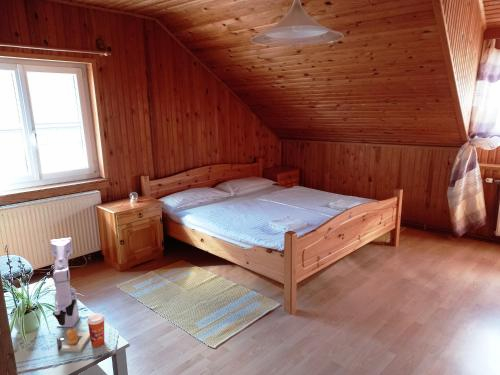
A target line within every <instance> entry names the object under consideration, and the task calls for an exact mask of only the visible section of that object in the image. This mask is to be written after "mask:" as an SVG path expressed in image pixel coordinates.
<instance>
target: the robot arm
mask: <svg viewBox="0 0 500 375" xmlns="http://www.w3.org/2000/svg"><path fill="white" fill-rule="evenodd" d="M49 243H50V251H51V254H52V256H53V257H56V259H55V261H54V271H53V272H52V275H53V276H52V278H53V283H54V287H55V294H54V307H55V309H54V311H53V312H52V316H54V317H55V319H56V321H57V322H58V323H57V325H56V327H57V328H58V327H60V328H73V327H74V326H75V324H76V323H77V322H78V321H79V319H81V315H79V306H78V305H79V304H78V297H77V291H76V289H75V288H73V287H71V286H70V285H71V284H70V280H71V279H70V278H71V277H70V269H69V256H70V255H72V254H73V238H72V237H70V236H69V237H64V238H57V239H50V242H49Z"/></svg>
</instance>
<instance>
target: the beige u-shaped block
mask: <svg viewBox="0 0 500 375" xmlns="http://www.w3.org/2000/svg"><path fill="white" fill-rule="evenodd" d="M77 336H78V343H77V345H76V346H69V345H68V344H67V345H64V344H63V345H62V347H61V349H60V352H79V353H80V352H82V350H83V349H84V348H85V346H86V345H87V343H88V341H89V340H90V334H89V331H77Z"/></svg>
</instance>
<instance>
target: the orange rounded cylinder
mask: <svg viewBox="0 0 500 375" xmlns="http://www.w3.org/2000/svg"><path fill="white" fill-rule="evenodd" d="M77 332H78V330H77V328H71V329H68V330H67V331H66V340H67V345H69V346H76V345H77V343H78V342H79V339H78V336H77Z"/></svg>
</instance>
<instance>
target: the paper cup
mask: <svg viewBox="0 0 500 375" xmlns="http://www.w3.org/2000/svg"><path fill="white" fill-rule="evenodd" d="M105 319H106V317H105V315H104V314H103V313H100V312H95V313H91V314H90V315H89V316H88V317H87V319H86V323H87V325H88V332H89V334H90V338H89V340H90V343H91V346H92V347H93V348H100V347H101V345H102V346H103V345H104V344H105Z"/></svg>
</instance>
